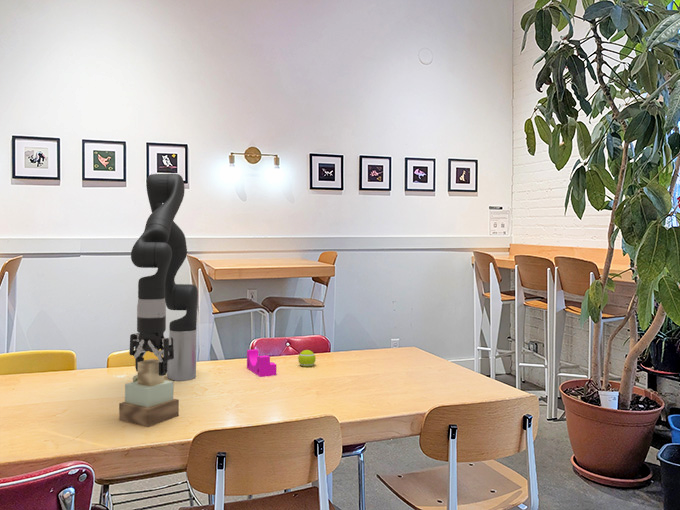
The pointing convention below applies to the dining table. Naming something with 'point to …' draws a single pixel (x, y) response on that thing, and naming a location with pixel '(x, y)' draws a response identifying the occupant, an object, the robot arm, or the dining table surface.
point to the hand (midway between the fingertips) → (151, 373)
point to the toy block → (260, 364)
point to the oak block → (149, 373)
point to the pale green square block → (148, 393)
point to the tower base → (148, 413)
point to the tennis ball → (306, 358)
